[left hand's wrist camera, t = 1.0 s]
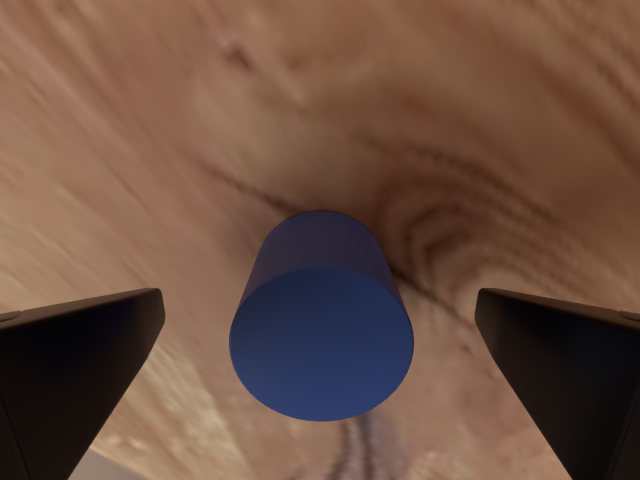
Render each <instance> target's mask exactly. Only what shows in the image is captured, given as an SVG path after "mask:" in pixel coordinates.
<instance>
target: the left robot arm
mask: <svg viewBox="0 0 640 480" xmlns="http://www.w3.org/2000/svg"><path fill="white" fill-rule="evenodd" d="M164 322H165V310H164V303H163V297H162V292H161V290H160V289H158V288H143V289H138V290H132V291H127V292H122V293H116V294H111V295H105V296H100V297H94V298H89V299H83V300H78V301H72V302H67V303H61V304H56V305H50V306H45V307H39V308H34V309H28V310H23V311H22V312H21V311H14V312H9V313H3V314H0V480H68V478H69V477H70V475H71V474H72V472H73V471H74V469H75V468H76V466H77V465H78V463H79V462H80V460H81V458H82V457H83V456H84V454H85V452H86V451H87V449H88V448H89V446H90V445H91V443H92V442H93V440H94V439H95V437H96V436H97V434H98V433H99V431H100V430H101V428H102V427H103V425H104V424H105V422H106V421H107V419H108V418H109V416H110V414H111V413H112V411H113V410H114V408H115V407H116V405H117V404H118V402H119V401H120V399H121V398H122V396H123V395H124V393H125V392H126V390H127V389H128V387H129V386H130V384H131V383H132V381H133V380H134V378H135V376H136V375H137V373H138V372H139V370H140V369H141V367H142V366H143V364H144V363H145V361H146V359H147V357H148V356H149V354H150V352H151V350H152V348H153V345H154V343H155V341H156V339H157V337H158V335H159V333H160V331H161V329H162V327H163V325H164ZM475 322H476V325H477V327H478V329H479V331H480V333H481V335H482V337H483V339H484V341H485V343H486V345H487V348H488V350H489V352H490V354H491V356H492V357H493V359H494V361H495V363H496V364H497V366H498V367H499V369H500V370H501V372H502V373H503V375H504V376H505V378H506V379H507V381H508V383H509V384H510V386H511V387H512V389H513V390H514V392H515V393H516V395H517V396H518V398H519V399H520V401H521V402H522V404H523V405H524V407H525V408H526V410H527V411H528V413H529V414H530V416H531V417H532V419H533V421H534V422H535V424H536V425H537V427H538V428H539V430H540V431H541V433H542V434H543V436H544V437H545V439H546V440H547V442H548V443H549V445H550V446H551V448H552V449H553V451H554V452H555V454H556V456H557V457H558V459H559V460H560V462H561V463H562V465H563V466H564V468H565V469H566V471H567V472H568V474H569V475H570V477H571V478H572V480H640V314H637V313H631V312H626V311H619V312H618V311H617V310H612V309H606V308H601V307H595V306H590V305H584V304H579V303H573V302H568V301H562V300H557V299H552V298H546V297H541V296H535V295H530V294H524V293H519V292H513V291H508V290H502V289H497V288H482V289H480V290H479V292H478V297H477V303H476V310H475Z"/></svg>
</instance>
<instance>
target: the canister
mask: <svg viewBox="0 0 640 480" xmlns="http://www.w3.org/2000/svg"><path fill="white" fill-rule="evenodd" d="M229 349H230V356H231V360H232V363H233V367H234V369H235V371H236V373H237V376H238V377H239V379H240V381H241V382H242V384H243V385H244V386H245V388H246V389H247V390H248V391H249V392H250V393H251V394H252V395H253V396H254V397H255V398H256V399H257V400H259V401H260V402H261V403H263V404H264V405H266V406H267V407H269V408H271V409H273V410H274V411H276V412H279V413H281V414H284V415H286V416H289V417H293V418H296V419H302V420H307V421H335V420H342V419H346V418H351V417H354V416H356V415H359V414H362V413H364V412H366V411H368V410H371V409H372V408H374V407H376V406H377V405H379V404H380V403H382V402H383V401H384V400H385V399H387V398H388V397H389V396H390V395H391V394H392V393H393V392H394V391H395V390H396V389H397V388H398V386H399V385H400V384H401V382H402V381H403V379H404V377H405V375H406V374H407V372H408V369H409V366H410V364H411V360H412V356H413V349H414V337H413V330H412V325H411V322H410V319H409V316H408V314H407V311H406V309H405V306H404V304H403V301H402V299H401V296H400V294H399V291H398V288H397V286H396V283H395V281H394V278H393V276H392V273H391V271H390V268H389V265H388V263H387V260H386V258H385V255H384V253H383V250H382V248H381V246H380V244H379V242H378V240H377V239H376V237H375V236H374V235H373V234H372V232H371V231H370V230H369V229H368V228H367V227H365V226H364V225H363V224H361V223H360V222H359V221H357V220H355V219H353V218H351V217H349V216H347V215H344V214H341V213H337V212H332V211H311V212H305V213H302V214H298V215H296V216H293V217H291V218H289V219H287V220H285V221H284V222H282V223H281V224H279V225H278V226H277V227H276V228H275V229H274V230H273V231H272V232H271V233H270V234H269V235H268V236H267V238H266V239H265V241H264V242H263V244H262V246H261V248H260V251H259V254H258V256H257V259H256V261H255V264H254V267H253V269H252V272H251V275H250V277H249V280H248V283H247V285H246V288H245V290H244V293H243V296H242V298H241V301H240V304H239V306H238V309H237V312H236V314H235V317H234V320H233V323H232V325H231V330H230V336H229Z"/></svg>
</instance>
